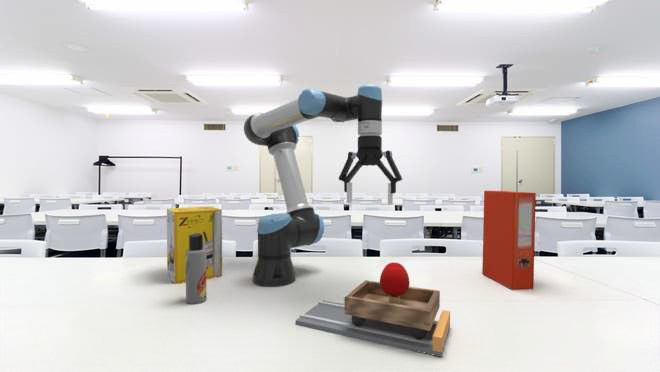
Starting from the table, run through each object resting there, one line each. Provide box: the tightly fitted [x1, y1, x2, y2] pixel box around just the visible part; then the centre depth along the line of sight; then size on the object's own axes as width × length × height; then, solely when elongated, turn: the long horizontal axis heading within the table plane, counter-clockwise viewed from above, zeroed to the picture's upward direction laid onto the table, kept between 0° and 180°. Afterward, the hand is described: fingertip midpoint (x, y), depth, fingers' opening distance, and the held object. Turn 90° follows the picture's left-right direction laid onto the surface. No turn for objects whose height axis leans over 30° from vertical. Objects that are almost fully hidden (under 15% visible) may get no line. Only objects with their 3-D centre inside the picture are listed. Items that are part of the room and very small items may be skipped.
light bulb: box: [379, 262, 410, 304], centre depth 80 cm, size 9×7×10 cm
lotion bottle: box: [185, 233, 208, 305], centre depth 99 cm, size 6×6×20 cm
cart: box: [344, 279, 441, 340], centre depth 80 cm, size 19×14×7 cm
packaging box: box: [166, 206, 223, 285], centre depth 126 cm, size 16×16×25 cm
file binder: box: [481, 190, 537, 291], centre depth 118 cm, size 8×17×32 cm, turn 5°
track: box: [295, 299, 451, 357], centre depth 82 cm, size 35×15×4 cm, turn 64°
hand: (369, 203), depth 105 cm, fingers open, 13 cm apart
